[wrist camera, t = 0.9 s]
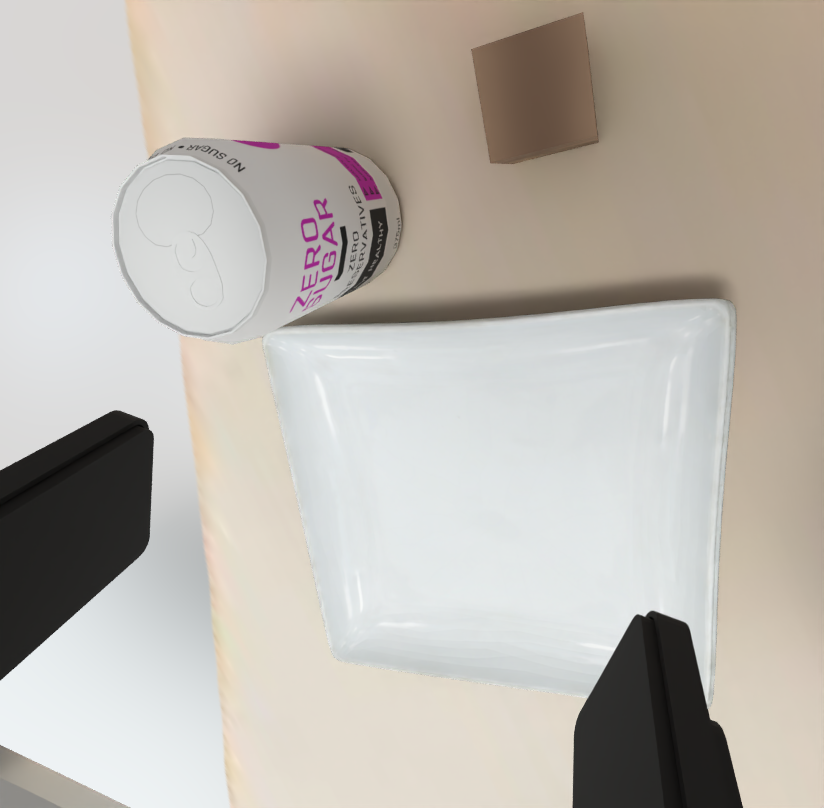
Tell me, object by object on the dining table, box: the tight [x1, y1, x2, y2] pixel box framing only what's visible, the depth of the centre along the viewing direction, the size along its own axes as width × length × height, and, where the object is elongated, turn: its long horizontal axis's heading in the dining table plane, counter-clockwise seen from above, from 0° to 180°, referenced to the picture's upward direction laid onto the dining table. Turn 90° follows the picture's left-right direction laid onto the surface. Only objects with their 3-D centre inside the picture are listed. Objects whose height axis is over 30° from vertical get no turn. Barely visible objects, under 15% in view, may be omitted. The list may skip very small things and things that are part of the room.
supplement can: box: [112, 138, 402, 344], centre depth 29 cm, size 8×8×15 cm
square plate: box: [262, 299, 736, 709], centre depth 38 cm, size 27×27×4 cm
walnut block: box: [471, 13, 598, 164], centre depth 27 cm, size 4×4×7 cm
